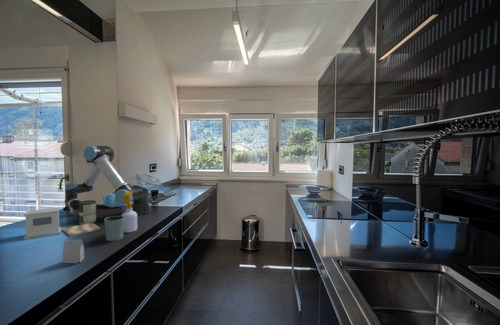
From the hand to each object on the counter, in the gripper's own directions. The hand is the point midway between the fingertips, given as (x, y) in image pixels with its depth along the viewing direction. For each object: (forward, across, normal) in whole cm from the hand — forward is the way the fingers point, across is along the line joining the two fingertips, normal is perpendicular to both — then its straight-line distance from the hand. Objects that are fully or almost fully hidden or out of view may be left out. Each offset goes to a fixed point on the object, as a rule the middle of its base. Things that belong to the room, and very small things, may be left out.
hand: (83, 208), depth 166 cm
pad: (+23, +8, -8) cm, 26 cm away
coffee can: (+7, 0, -8) cm, 10 cm away
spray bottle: (+46, -12, -8) cm, 48 cm away
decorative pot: (-26, -30, -8) cm, 41 cm away
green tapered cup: (+53, -1, -8) cm, 54 cm away
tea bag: (+70, +23, -8) cm, 74 cm away
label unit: (+16, +25, -8) cm, 31 cm away
